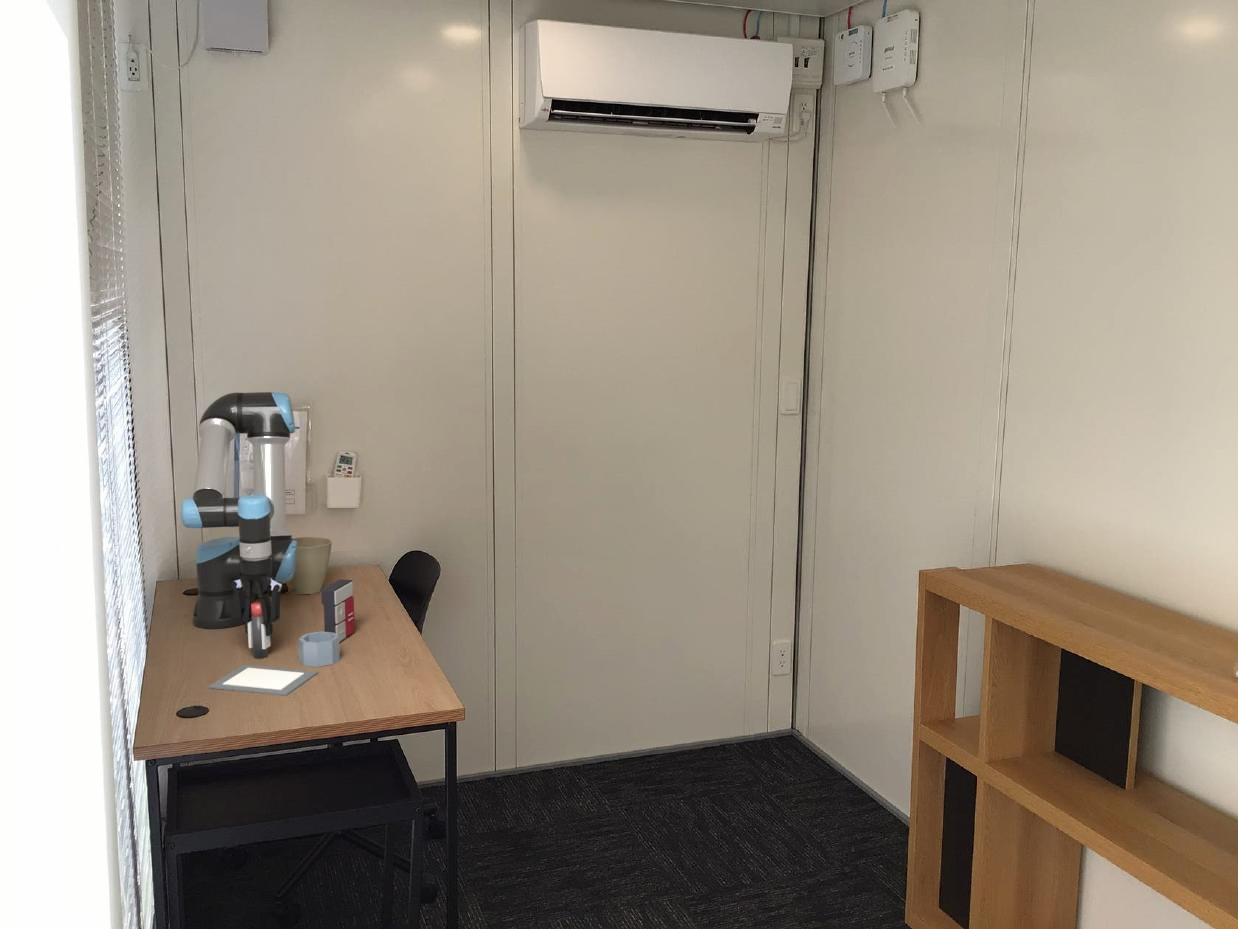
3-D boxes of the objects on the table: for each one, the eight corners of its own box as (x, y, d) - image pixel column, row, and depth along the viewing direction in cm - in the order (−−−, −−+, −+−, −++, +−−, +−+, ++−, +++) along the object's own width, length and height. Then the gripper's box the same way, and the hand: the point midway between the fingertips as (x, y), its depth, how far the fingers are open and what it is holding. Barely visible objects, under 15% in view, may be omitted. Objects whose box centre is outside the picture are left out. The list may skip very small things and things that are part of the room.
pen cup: (294, 664, 258) (293, 641, 257) (311, 653, 267) (311, 630, 266) (327, 668, 256) (327, 644, 255) (344, 656, 265) (343, 633, 264)
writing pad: (208, 688, 242) (208, 685, 242) (243, 666, 256) (243, 664, 256) (286, 695, 238) (286, 693, 238) (318, 673, 252) (317, 671, 252)
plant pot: (316, 600, 313) (314, 549, 310) (273, 595, 317) (271, 545, 314) (342, 587, 327) (341, 538, 325) (301, 583, 331) (299, 534, 329)
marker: (250, 658, 262) (248, 604, 260) (258, 653, 265) (255, 601, 263) (262, 659, 261) (260, 605, 259) (270, 654, 265) (267, 602, 263)
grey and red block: (337, 645, 273) (336, 590, 270) (322, 644, 273) (320, 589, 271) (356, 632, 283) (354, 579, 281) (341, 631, 284) (340, 578, 282)
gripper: (218, 558, 257) (222, 649, 261) (277, 562, 254) (280, 654, 258) (235, 551, 265) (239, 639, 268) (292, 555, 261) (296, 644, 265)
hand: (259, 646), depth 263 cm, fingers closed on marker, 3 cm apart
